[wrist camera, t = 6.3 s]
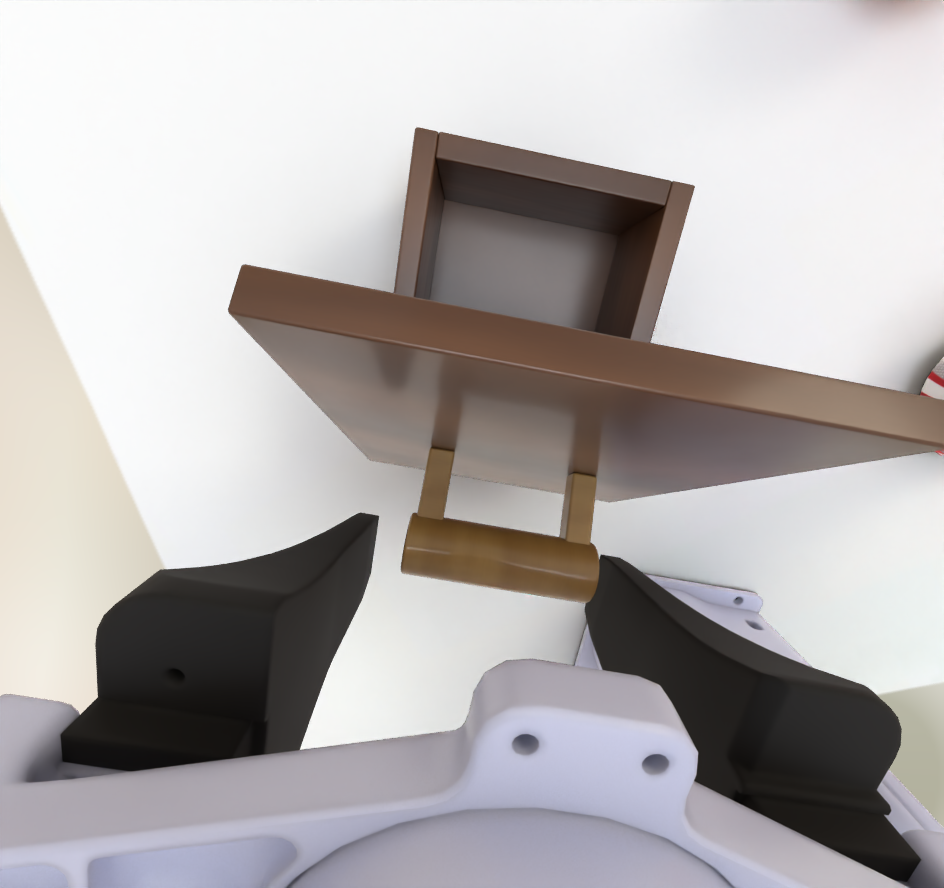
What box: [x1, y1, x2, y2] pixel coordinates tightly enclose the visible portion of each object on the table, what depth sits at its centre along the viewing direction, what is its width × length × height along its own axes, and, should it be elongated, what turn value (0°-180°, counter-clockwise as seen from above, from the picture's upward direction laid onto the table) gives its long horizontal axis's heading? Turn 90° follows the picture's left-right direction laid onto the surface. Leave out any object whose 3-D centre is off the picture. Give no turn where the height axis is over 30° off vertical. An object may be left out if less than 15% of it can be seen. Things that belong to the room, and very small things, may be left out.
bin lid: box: [228, 264, 944, 603], centre depth 11 cm, size 12×10×4 cm
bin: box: [394, 127, 695, 343], centre depth 19 cm, size 11×10×6 cm
